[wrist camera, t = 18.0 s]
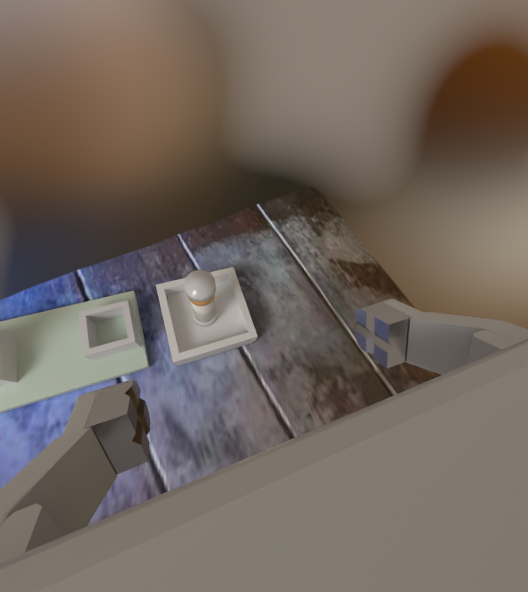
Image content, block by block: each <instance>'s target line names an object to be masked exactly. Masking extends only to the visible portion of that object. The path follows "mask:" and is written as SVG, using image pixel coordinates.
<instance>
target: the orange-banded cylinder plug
mask: <svg viewBox="0 0 528 592" xmlns="http://www.w3.org/2000/svg"><path fill="white" fill-rule="evenodd" d="M184 287H185V291H186V294H187V296H188V297H189V299H190V302H191V306H192V315H193V319H194V321H195V323H196V324H197V325H199V326H202V327H208V326H211V325H212V324H213V323H214V322H215V321H216V319H217V309H216V307H215V291H216V283H215V279H214V277H213V275H212V274H211V273H209V272H207V271H205V270H196V271H193V272H191V273H190V274H188V275H187V277H186V278H185V281H184Z"/></svg>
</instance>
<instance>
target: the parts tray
mask: <svg viewBox="0 0 528 592" xmlns="http://www.w3.org/2000/svg"><path fill="white" fill-rule="evenodd" d="M209 273H211V274H212V275H213V277H214V279H215V283H216V291H215V307H216V309H217V319H216V321H215V322H214V323H213V324H212V325H211V326H208V327H202V326H199V325H197V324H196V323H195V321H194V319H193V315H192V306H191V302H190V299H189V297H188V296H187V294H186V291H185V287H184V281H185V278H183V279H179V280H175V281H170V282H166V283H162V284H157V285H156V288H157V293H158V297H159V302H160V306H161V311H162V315H163V320H164V324H165V328H166V333H167V337H168V342H169V346H170V351H171V355H172V360H173V363H174V364H175V365H176V366H180V365H183V364H186V363H189V362H192V361H196V360H199V359H202V358H205V357H208V356H212V355H215V354H218V353H221V352H224V351H228V350H231V349H234V348H237V347H240V346H244V345H247V344H250V343H253V342H256V339H257V337H258V336H257V333H256V330H255V327H254V325H253V322H252V319H251V316H250V313H249V310H248V307H247V305H246V302H245V299H244V296H243V293H242V290H241V287H240V284H239V282H238V279H237V276H236V273H235V270H234V267H231V268H226V269H222V270H218V271H213V272H209Z"/></svg>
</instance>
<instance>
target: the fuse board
mask: <svg viewBox="0 0 528 592" xmlns="http://www.w3.org/2000/svg"><path fill="white" fill-rule="evenodd" d="M147 368H150V366H149V361H148V356H147V350H146V345H145V340H144V335H143V329H142V324H141V319H140V314H139V309H138V303H137V298H136V293H135V292H134V291H130V292H125V293H121V294H117V295H113V296H108V297H104V298H100V299H95V300H91V301H87V302H82V303H78V304H74V305H70V306H65V307H61V308H57V309H52V310H48V311H44V312H40V313H35V314H31V315H27V316H22V317H18V318H14V319H9V320H5V321H1V322H0V413H3V412H6V411H9V410H13V409H16V408H19V407H22V406H26V405H29V404H32V403H35V402H39V401H42V400H45V399H49V398H52V397H55V396H58V395H62V394H65V393H68V392H71V391H75V390H78V389H81V388H84V387H88V386H91V385H94V384H98V383H101V382H104V381H107V380H111V379H114V378H117V377H120V376H124V375H127V374H130V373H134V372H137V371H140V370H143V369H147Z"/></svg>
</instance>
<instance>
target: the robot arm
mask: <svg viewBox="0 0 528 592" xmlns="http://www.w3.org/2000/svg"><path fill="white" fill-rule="evenodd" d="M355 321H356V322H357V323H358V326H357V328H356V330H355V334H356V340H357V342H358V345H359V346H360V347H361V349H363V350H364V351H365V352H367V353H371V354H373V355H374V359H375V360H377V361H378V362H379V363H381V364H382V365H383V366H385V367H386V368H389V367H392V366H395V365H398V364H400V363H403V362H406V363H409V364H412V365H415V366H418V367H421V368H424V369H427V370H430V371H432V372H435V373H438V374H441V376H439V377H437V378H434V379H432V380H429V381H427V382H425V383H422V384H420V385H418V386H415V387H413V388H411V389H408V390H406V391H403V392H401V393H399V394H396V395H394V396H392V397H389V398H387V399H385V400H382V401H380V402H377V403H375V404H373V405H370V406H368V407H366V408H363V409H361V410H359V411H356V412H354V413H352V414H349V415H347V416H345V417H342V418H340V419H338V420H335V421H333V422H330V423H328V424H326V425H323V426H321V427H319V428H316V429H314V430H312V431H309V432H307V433H305V434H302V435H300V436H298V437H295V438H293V439H291V440H288V441H286V442H284V443H281V444H279V445H277V446H274V447H272V448H270V449H267V450H265V451H263V452H260V453H258V454H255V455H253V456H251V457H248V458H246V459H244V460H241V461H239V462H237V463H234V464H232V465H230V466H227V467H225V468H222V469H220V470H218V471H215V472H213V473H211V474H208V475H206V476H204V477H201V478H199V479H197V480H194V481H192V482H190V483H187V484H185V485H182V486H180V487H178V488H175V489H173V490H171V491H168V492H166V493H164V494H161V495H159V496H157V497H154V498H152V499H150V500H147V501H145V502H142V503H140V504H138V505H135V506H133V507H131V508H128V509H126V510H124V511H121V512H119V513H117V514H114V515H112V516H109V517H107V518H105V519H102V520H100V521H98V522H95V523H93V524H91V525H88V523H89V521H90V520H91V518H92V516H93V515H94V513H95V512H96V510H97V508H98V507H99V505H100V503H101V502H102V500H103V498H104V497H105V495H106V493H107V492H108V490H109V489H110V487H111V485H112V484H113V482H114V480H115V479H116V477H117V474H119V473H122V472H124V471H127V470H129V469H131V468H134V467H136V466H138V465H141V464H143V463H146V462H148V458H149V440H148V438H147V434H148V433H149V431H150V417H149V412H148V408H147V405H146V403H145V400H143V399H141V398H140V388H139V386H138V383H137V381H136V380H134V379H133V380H130V381H126V382H123V383H119V384H116V385H113V386H109V387H106V388H102V389H100V390H95V391H92V392H89V393H86V394H83V395H81V396H79V397H78V399H77V402H76V404H75V406H74V409H73V411H72V414H71V416H70V418H69V421H68V423H67V426H66V428H65V430H64V433H63V435H62V437H60V438H57V439H55V440H54V441H53V442H52V443H51V444H50V445H48V446H47V447H46V448H45V449H44V450H43V451H42V452H41V453H40V454H39V455H38V456H37V457H35V458H34V459H33V460H32V461H31V462H30V463H29V464H28V465H27V466H26V467H25V468H24V469H22V470H21V471H20V472H19V473H18V474H17V475H16V476H15V477H14V478H13V479H12V480H10V481H9V482H8V483H7V484H6V485H5V486H4V487H3V488H2V489H1V490H0V592H528V330H527V329H525V328H522V327H519V326H516V325H514V324H511V323H509V322H506V321H501V320H493V319H484V318H475V317H467V316H458V315H449V314H441V313H432V312H426V313H423V312H421V311H419V310H417V309H414V308H412V307H410V306H408V305H406V304H403V303H401V302H399V301H397V300H394V299H388V300H385V301H382V302H379V303H377V304H374V305H371V306H368V307H365V308H362V309H359V310H357V311H356V314H355ZM87 525H88V526H87Z"/></svg>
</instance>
